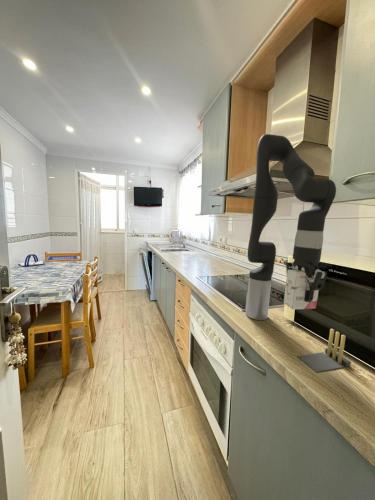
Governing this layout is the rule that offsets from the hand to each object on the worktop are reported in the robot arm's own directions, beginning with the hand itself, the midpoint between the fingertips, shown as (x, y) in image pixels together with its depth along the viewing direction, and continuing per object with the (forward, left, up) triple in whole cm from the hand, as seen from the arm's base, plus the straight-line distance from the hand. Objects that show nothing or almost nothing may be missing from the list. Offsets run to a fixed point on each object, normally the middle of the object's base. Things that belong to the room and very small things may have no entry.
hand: (300, 297), depth 67 cm
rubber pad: (+7, +3, -18) cm, 19 cm away
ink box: (0, 0, -3) cm, 3 cm away
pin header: (+7, +9, -18) cm, 21 cm away
